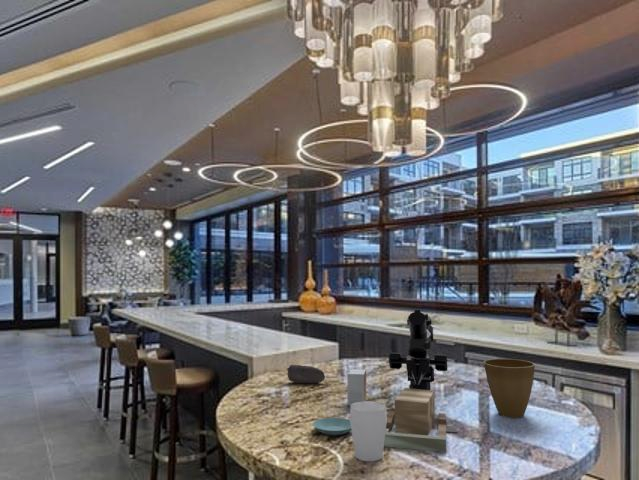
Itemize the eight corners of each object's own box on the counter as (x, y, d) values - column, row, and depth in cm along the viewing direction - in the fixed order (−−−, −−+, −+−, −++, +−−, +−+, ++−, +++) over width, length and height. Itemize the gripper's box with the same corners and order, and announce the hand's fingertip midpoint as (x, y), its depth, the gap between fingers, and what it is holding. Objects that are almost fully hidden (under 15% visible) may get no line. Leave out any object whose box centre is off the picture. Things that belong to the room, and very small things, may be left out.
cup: (347, 450, 120) (347, 401, 121) (382, 448, 121) (382, 400, 122) (353, 464, 111) (352, 412, 112) (391, 463, 112) (390, 411, 113)
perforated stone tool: (326, 382, 191) (326, 365, 192) (323, 385, 186) (323, 367, 187) (290, 380, 195) (290, 363, 195) (286, 383, 190) (286, 366, 190)
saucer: (313, 424, 140) (313, 416, 141) (354, 424, 140) (353, 417, 140) (312, 439, 129) (312, 430, 129) (355, 439, 128) (355, 430, 128)
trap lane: (379, 415, 148) (379, 405, 148) (456, 421, 142) (455, 410, 143) (366, 444, 124) (366, 433, 124) (458, 453, 118) (458, 440, 118)
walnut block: (404, 417, 146) (404, 388, 147) (434, 421, 143) (434, 390, 143) (395, 432, 133) (394, 399, 134) (427, 436, 130) (427, 403, 130)
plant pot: (533, 409, 153) (532, 359, 154) (538, 424, 139) (537, 368, 140) (485, 405, 158) (483, 356, 159) (485, 419, 144) (483, 365, 145)
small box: (364, 406, 158) (364, 374, 158) (347, 405, 159) (347, 373, 159) (366, 400, 166) (366, 369, 166) (350, 399, 167) (350, 368, 167)
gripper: (388, 328, 159) (385, 368, 148) (446, 329, 154) (447, 371, 143) (391, 348, 166) (388, 388, 155) (446, 350, 161) (447, 391, 150)
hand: (417, 384), depth 150 cm, fingers closed
